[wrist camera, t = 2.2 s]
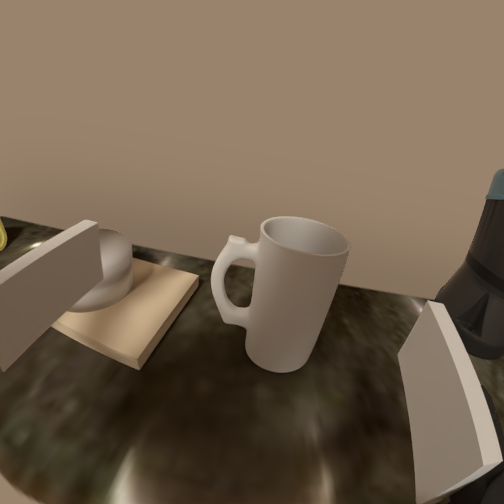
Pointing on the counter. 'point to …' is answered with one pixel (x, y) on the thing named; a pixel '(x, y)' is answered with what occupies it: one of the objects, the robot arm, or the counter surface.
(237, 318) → the mug
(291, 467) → the counter surface
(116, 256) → the board with round cheese
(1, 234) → the plastic component
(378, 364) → the counter surface
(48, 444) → the counter surface
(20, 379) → the counter surface
